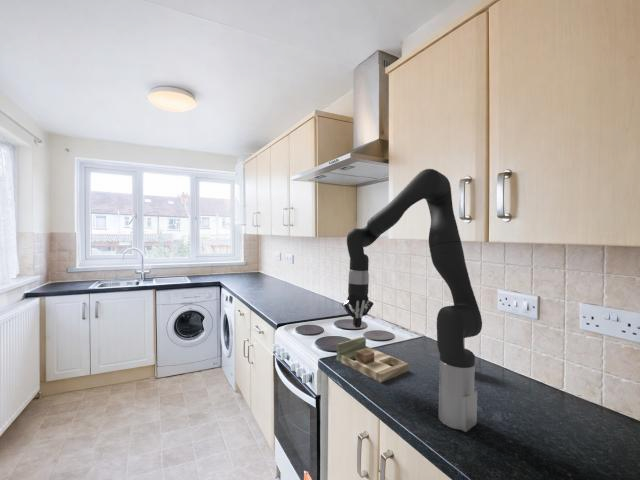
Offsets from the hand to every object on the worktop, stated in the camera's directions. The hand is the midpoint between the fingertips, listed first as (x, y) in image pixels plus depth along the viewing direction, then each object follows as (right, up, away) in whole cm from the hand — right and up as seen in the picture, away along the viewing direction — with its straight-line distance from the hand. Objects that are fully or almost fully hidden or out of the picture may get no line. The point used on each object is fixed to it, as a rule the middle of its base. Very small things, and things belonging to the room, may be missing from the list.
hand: (357, 327), depth 118 cm
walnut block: (+4, -15, +5) cm, 16 cm away
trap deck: (+7, -18, +8) cm, 21 cm away
